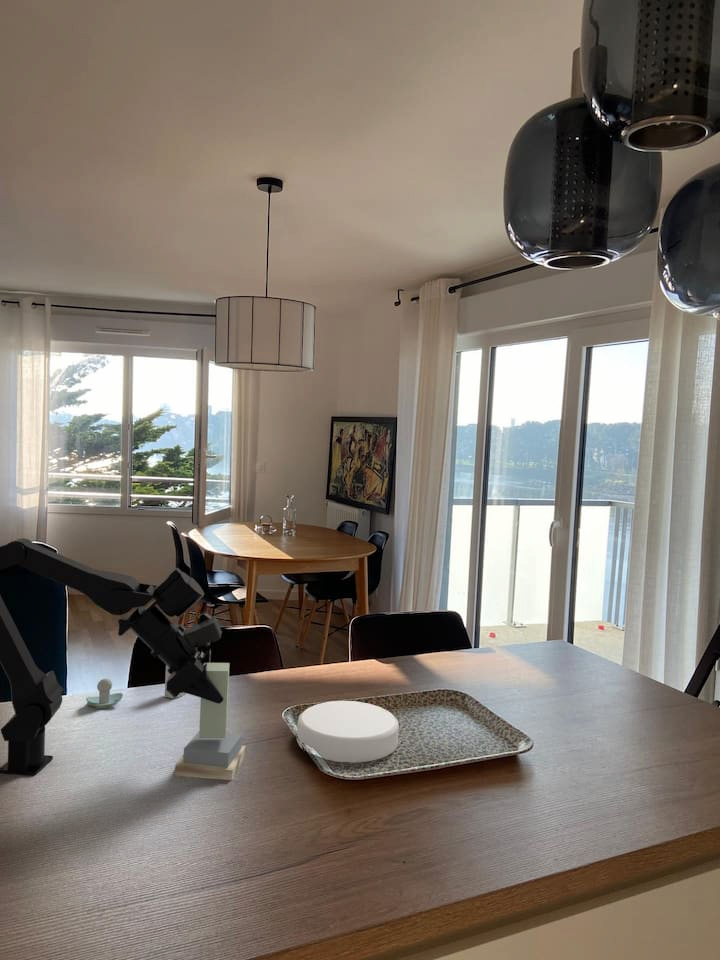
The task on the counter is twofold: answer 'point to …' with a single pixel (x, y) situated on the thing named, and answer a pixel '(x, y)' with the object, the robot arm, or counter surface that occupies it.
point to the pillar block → (211, 712)
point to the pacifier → (104, 695)
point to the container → (348, 731)
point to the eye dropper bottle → (166, 685)
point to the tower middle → (213, 750)
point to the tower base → (210, 768)
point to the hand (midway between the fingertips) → (222, 696)
